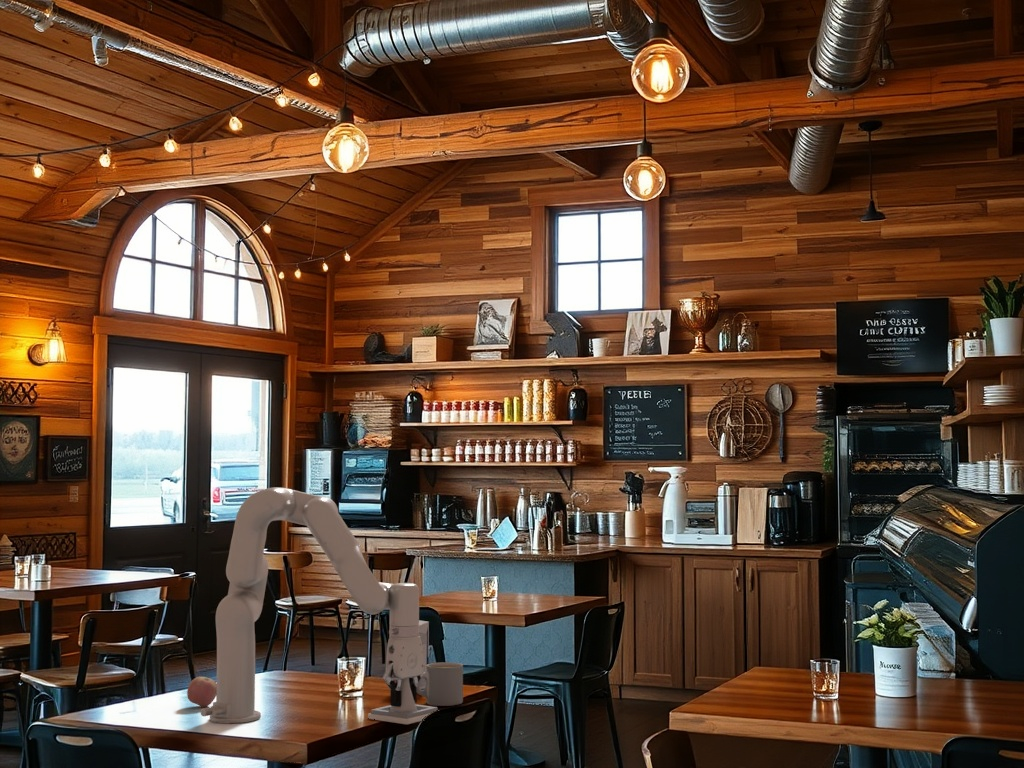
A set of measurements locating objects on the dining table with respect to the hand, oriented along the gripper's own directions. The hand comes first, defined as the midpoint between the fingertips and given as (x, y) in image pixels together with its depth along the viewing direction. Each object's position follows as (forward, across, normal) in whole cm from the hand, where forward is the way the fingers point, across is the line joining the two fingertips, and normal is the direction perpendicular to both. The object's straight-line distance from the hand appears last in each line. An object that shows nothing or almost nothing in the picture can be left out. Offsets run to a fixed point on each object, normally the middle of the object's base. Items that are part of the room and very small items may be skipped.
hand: (403, 703), depth 305 cm
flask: (+2, 0, 0) cm, 2 cm away
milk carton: (+4, +30, +23) cm, 38 cm away
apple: (+4, -20, +54) cm, 58 cm away
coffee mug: (+4, +21, +6) cm, 22 cm away
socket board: (+3, 0, 0) cm, 3 cm away
